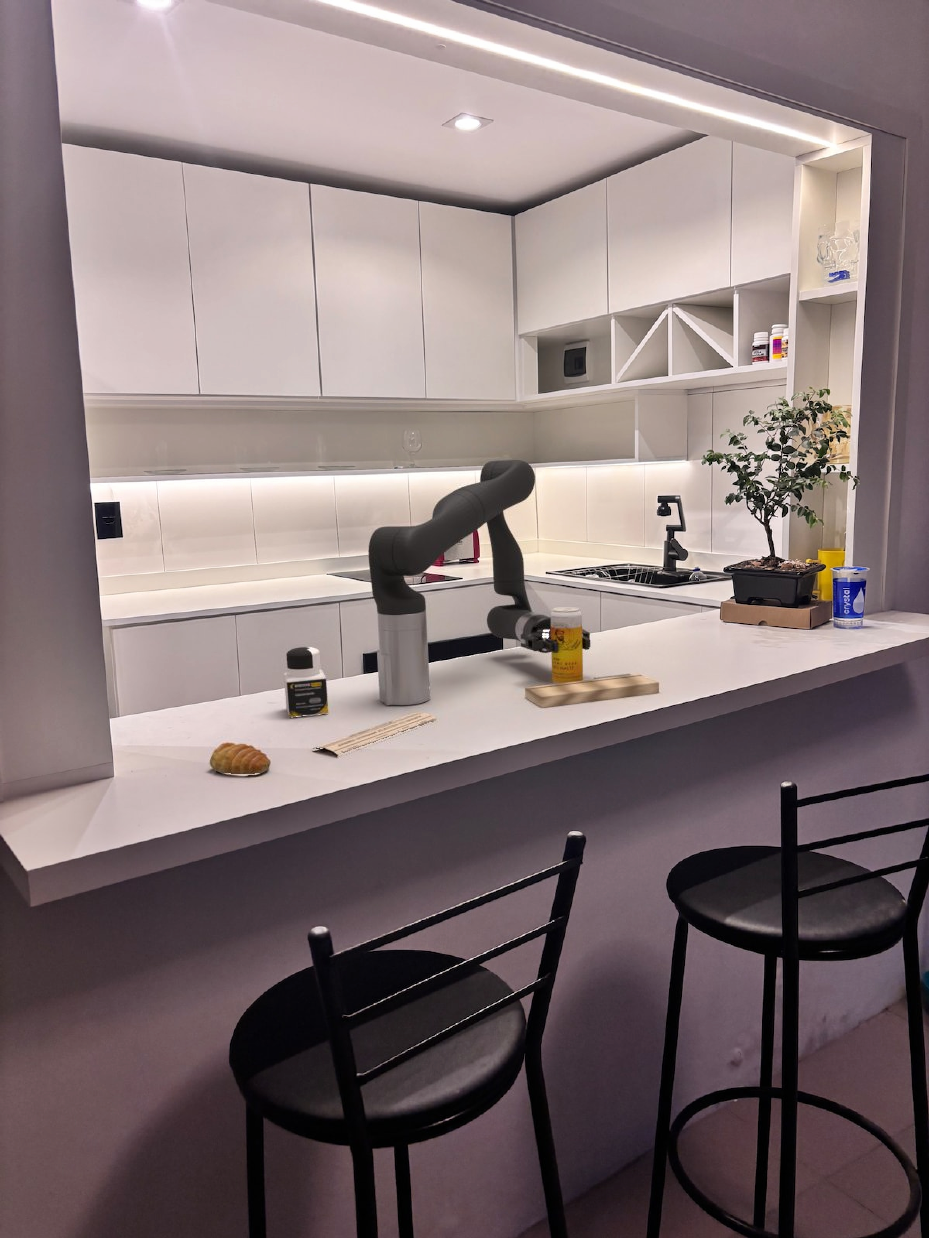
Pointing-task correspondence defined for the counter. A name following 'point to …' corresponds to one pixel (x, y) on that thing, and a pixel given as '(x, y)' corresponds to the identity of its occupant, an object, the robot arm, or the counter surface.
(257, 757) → the pastry
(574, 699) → the board
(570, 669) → the beer can
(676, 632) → the counter surface
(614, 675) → the pad
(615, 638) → the counter surface
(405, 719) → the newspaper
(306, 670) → the medicine bottle
